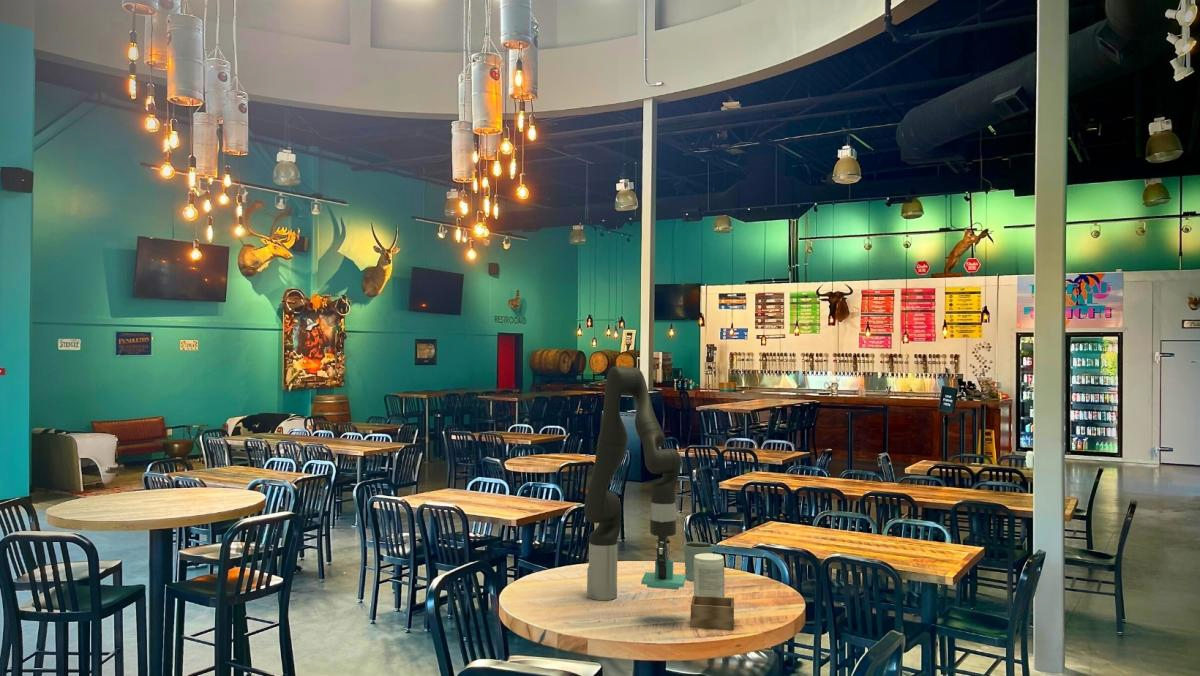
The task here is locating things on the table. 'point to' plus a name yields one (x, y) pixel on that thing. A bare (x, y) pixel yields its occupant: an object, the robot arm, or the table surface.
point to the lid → (669, 583)
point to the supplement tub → (709, 575)
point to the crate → (712, 612)
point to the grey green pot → (691, 551)
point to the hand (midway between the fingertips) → (662, 577)
